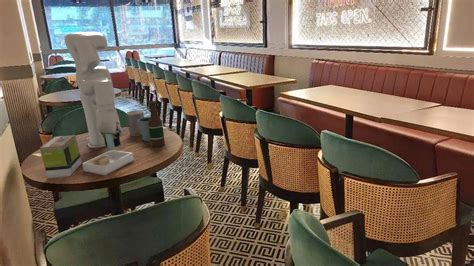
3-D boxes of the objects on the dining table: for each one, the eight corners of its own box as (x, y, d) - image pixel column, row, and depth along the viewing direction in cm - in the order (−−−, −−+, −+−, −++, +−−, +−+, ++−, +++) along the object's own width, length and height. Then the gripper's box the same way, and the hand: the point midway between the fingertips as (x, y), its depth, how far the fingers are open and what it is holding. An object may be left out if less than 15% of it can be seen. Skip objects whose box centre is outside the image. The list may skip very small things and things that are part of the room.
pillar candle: (133, 131, 205) (129, 108, 201) (148, 131, 205) (145, 107, 200) (127, 136, 196) (123, 112, 191) (143, 136, 196) (140, 111, 191)
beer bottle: (161, 147, 175) (156, 103, 167) (148, 147, 176) (142, 103, 169) (167, 142, 182) (162, 99, 175) (154, 142, 183) (148, 100, 176)
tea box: (61, 165, 158) (54, 135, 154) (82, 163, 159) (76, 134, 154) (46, 178, 144) (38, 146, 139) (70, 176, 144) (63, 145, 140)
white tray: (83, 171, 149) (82, 163, 148) (112, 157, 164) (111, 149, 163) (106, 175, 144) (104, 166, 142) (133, 160, 159) (132, 152, 158)
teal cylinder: (105, 148, 154) (102, 133, 152) (113, 144, 158) (110, 130, 156) (113, 149, 152) (110, 134, 150) (121, 145, 156) (118, 131, 154)
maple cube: (93, 169, 149) (91, 159, 147) (102, 165, 153) (100, 155, 152) (102, 171, 147) (100, 160, 145) (110, 166, 151) (108, 156, 150)
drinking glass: (162, 137, 191) (160, 117, 187) (149, 143, 183) (147, 122, 179) (150, 135, 196) (147, 115, 193) (137, 140, 188) (134, 120, 184)
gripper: (86, 108, 150) (93, 146, 155) (114, 110, 142) (121, 149, 148) (99, 104, 156) (105, 141, 161) (126, 106, 149) (132, 144, 154)
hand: (113, 145), depth 154 cm, fingers closed on teal cylinder, 5 cm apart
